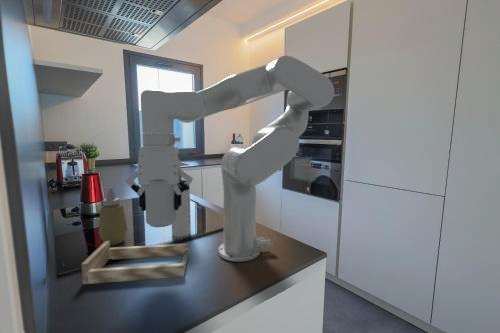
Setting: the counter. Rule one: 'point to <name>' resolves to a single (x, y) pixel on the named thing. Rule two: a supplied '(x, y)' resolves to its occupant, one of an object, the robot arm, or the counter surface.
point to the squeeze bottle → (112, 220)
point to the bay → (100, 257)
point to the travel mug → (182, 216)
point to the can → (160, 204)
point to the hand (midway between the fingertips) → (161, 208)
